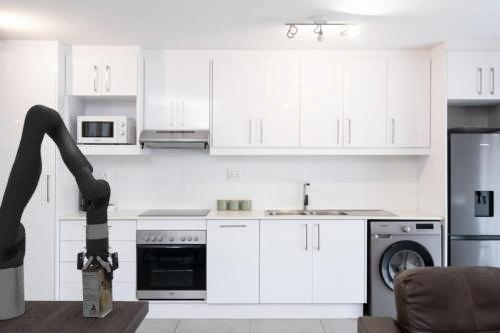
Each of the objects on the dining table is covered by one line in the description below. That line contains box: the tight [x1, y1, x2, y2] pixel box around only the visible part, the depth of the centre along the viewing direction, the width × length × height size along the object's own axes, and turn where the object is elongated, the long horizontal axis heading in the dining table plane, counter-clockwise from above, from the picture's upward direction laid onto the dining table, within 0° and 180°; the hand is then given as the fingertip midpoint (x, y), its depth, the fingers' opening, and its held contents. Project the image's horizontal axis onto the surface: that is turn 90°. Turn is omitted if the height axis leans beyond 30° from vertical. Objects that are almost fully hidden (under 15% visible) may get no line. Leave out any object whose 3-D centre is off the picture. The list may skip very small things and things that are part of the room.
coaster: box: [83, 307, 113, 318], centre depth 134 cm, size 7×7×1 cm
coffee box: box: [81, 263, 114, 318], centre depth 135 cm, size 9×6×16 cm
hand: (98, 281), depth 134 cm, fingers open, 8 cm apart
